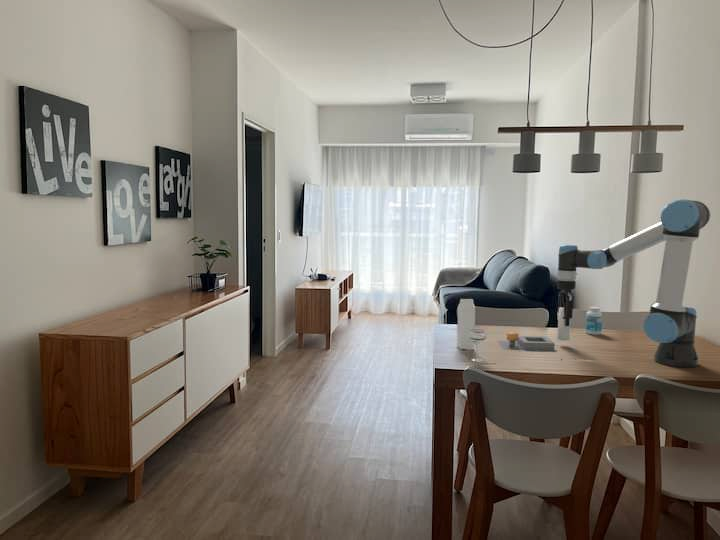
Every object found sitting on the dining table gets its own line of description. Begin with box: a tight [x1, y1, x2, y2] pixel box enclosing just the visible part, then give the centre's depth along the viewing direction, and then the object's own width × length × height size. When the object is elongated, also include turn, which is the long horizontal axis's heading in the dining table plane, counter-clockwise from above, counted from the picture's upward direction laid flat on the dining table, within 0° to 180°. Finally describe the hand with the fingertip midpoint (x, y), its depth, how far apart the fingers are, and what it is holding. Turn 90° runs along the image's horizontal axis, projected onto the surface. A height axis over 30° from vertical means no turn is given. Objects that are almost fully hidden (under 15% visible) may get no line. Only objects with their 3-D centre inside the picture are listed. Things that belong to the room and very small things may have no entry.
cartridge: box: [557, 307, 572, 341], centre depth 230 cm, size 5×5×14 cm
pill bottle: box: [584, 306, 603, 336], centre depth 261 cm, size 8×7×14 cm
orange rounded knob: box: [506, 331, 519, 342], centre depth 230 cm, size 5×5×3 cm
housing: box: [497, 335, 557, 352], centre depth 230 cm, size 16×22×4 cm
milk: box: [456, 298, 476, 351], centre depth 228 cm, size 6×6×22 cm
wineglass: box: [469, 328, 487, 363], centre depth 209 cm, size 7×7×12 cm
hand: (563, 331), depth 230 cm, fingers closed on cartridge, 5 cm apart
